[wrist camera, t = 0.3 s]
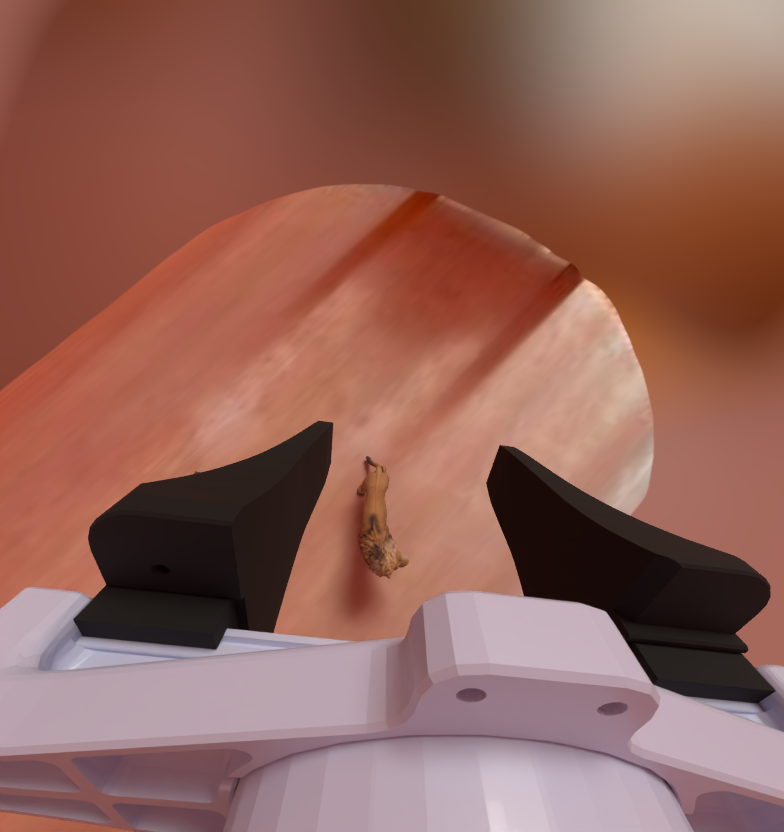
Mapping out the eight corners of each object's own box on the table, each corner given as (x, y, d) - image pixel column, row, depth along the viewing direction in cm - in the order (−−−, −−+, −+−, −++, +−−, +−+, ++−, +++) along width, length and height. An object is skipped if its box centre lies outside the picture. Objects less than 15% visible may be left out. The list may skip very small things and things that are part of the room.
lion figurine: (400, 561, 38) (415, 576, 30) (361, 570, 37) (365, 588, 29) (383, 454, 42) (392, 441, 34) (347, 459, 41) (347, 447, 33)
